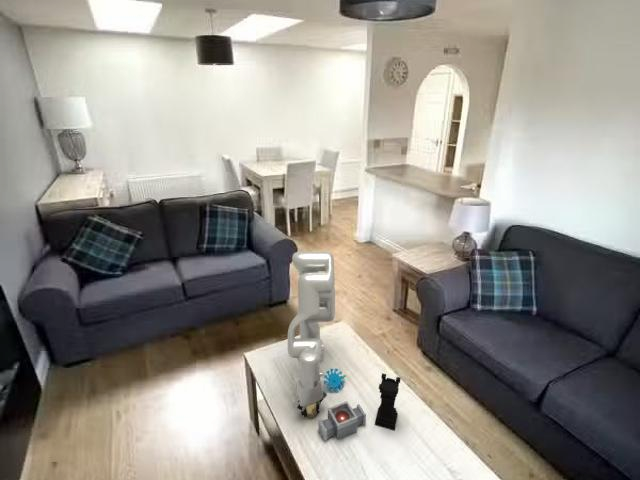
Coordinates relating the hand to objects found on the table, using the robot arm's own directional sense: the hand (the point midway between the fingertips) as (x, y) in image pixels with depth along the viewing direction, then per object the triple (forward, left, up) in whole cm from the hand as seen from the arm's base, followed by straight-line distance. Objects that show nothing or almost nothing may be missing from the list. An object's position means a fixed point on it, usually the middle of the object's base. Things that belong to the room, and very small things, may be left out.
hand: (310, 412), depth 147 cm
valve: (+11, +9, -1) cm, 14 cm away
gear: (-9, +16, -1) cm, 19 cm away
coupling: (0, 0, -1) cm, 1 cm away
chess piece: (+15, +27, -1) cm, 31 cm away
